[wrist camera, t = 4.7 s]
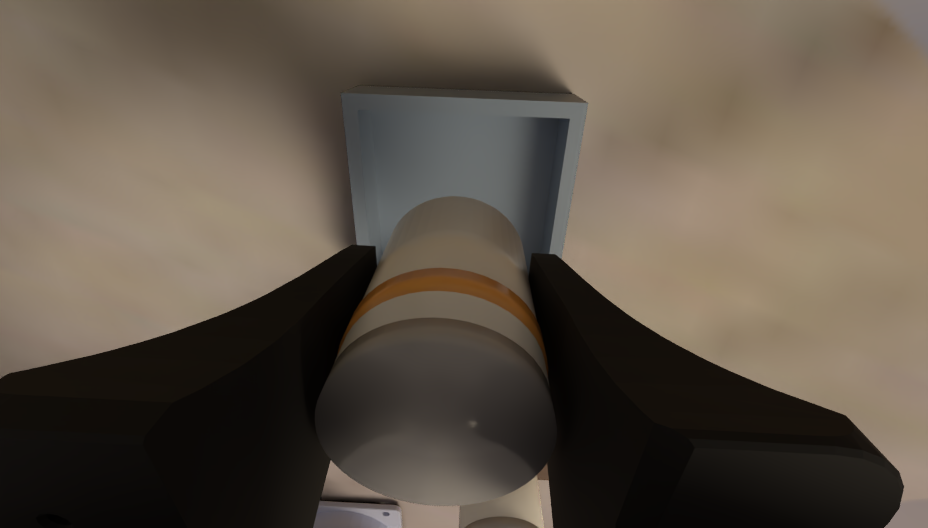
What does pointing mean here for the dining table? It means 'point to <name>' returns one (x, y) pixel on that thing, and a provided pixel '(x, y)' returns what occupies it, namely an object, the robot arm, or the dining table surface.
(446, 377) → the cylinder
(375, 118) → the tray
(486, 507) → the cylinder
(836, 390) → the dining table surface
